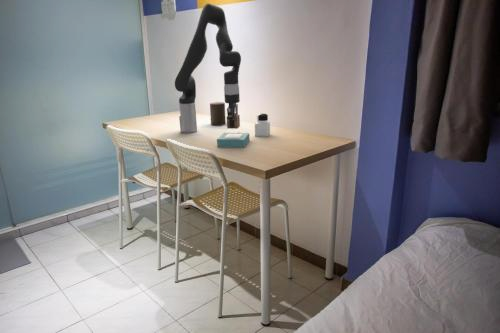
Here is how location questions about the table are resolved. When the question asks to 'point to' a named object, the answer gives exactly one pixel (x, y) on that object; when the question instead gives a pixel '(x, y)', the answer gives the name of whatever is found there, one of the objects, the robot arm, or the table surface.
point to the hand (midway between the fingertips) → (233, 125)
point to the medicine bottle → (262, 125)
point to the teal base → (233, 140)
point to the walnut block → (236, 122)
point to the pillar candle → (217, 113)
